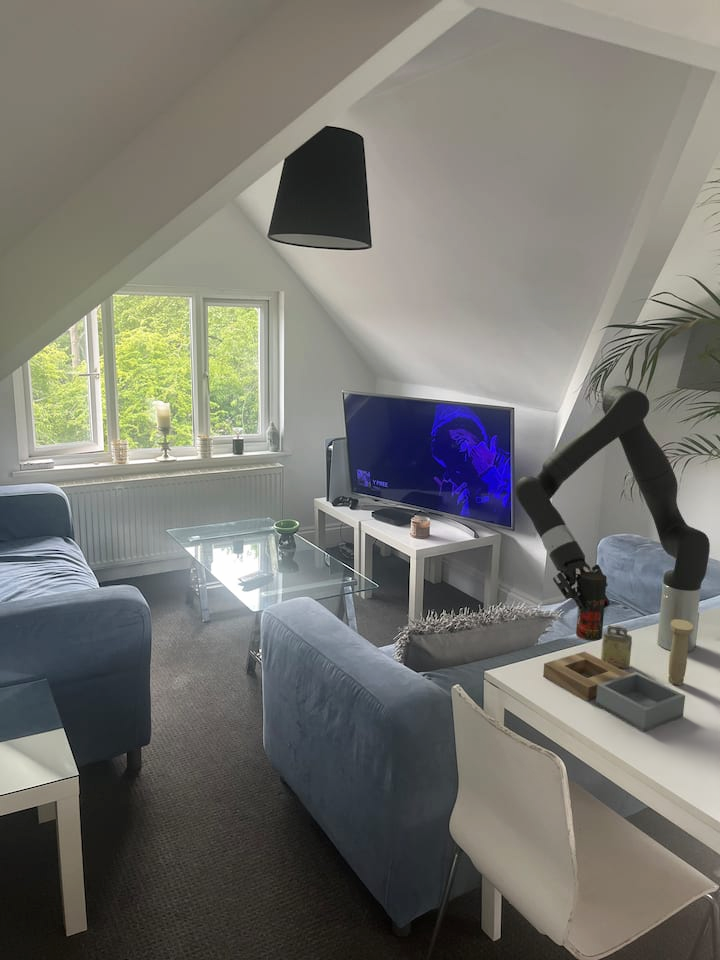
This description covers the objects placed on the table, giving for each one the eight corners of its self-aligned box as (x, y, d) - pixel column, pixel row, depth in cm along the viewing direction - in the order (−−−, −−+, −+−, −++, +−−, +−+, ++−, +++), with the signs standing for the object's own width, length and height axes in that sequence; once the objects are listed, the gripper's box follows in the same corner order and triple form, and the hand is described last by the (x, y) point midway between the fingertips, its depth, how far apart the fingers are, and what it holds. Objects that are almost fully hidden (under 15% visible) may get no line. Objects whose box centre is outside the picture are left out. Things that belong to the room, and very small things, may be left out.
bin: (634, 691, 169) (636, 671, 168) (682, 716, 158) (685, 695, 157) (595, 704, 163) (597, 684, 162) (643, 732, 152) (646, 710, 151)
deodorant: (570, 632, 173) (574, 573, 170) (590, 628, 175) (594, 570, 172) (587, 642, 168) (591, 581, 164) (607, 638, 170) (612, 578, 167)
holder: (583, 664, 183) (584, 651, 182) (628, 687, 171) (629, 673, 170) (543, 676, 176) (544, 663, 175) (587, 701, 164) (588, 687, 163)
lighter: (630, 664, 183) (633, 627, 181) (629, 670, 180) (632, 633, 178) (600, 659, 186) (604, 622, 184) (599, 664, 183) (602, 628, 181)
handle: (685, 678, 176) (692, 621, 173) (687, 690, 170) (693, 631, 167) (664, 675, 177) (670, 618, 174) (665, 686, 172) (671, 627, 169)
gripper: (549, 544, 170) (584, 608, 162) (592, 536, 177) (627, 596, 169) (532, 559, 175) (565, 622, 168) (574, 550, 182) (608, 610, 175)
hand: (596, 609), depth 168 cm, fingers closed on deodorant, 6 cm apart
